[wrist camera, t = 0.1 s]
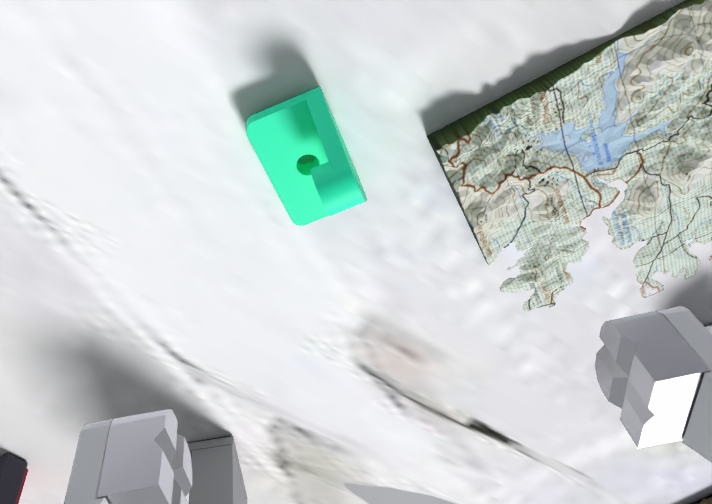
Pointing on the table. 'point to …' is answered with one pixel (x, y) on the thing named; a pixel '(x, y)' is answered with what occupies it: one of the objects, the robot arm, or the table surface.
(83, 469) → the robot arm
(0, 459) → the calculator
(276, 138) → the camera mount
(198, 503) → the cassette tape recorder
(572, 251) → the topographic map model
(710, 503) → the network switch
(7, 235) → the table surface
